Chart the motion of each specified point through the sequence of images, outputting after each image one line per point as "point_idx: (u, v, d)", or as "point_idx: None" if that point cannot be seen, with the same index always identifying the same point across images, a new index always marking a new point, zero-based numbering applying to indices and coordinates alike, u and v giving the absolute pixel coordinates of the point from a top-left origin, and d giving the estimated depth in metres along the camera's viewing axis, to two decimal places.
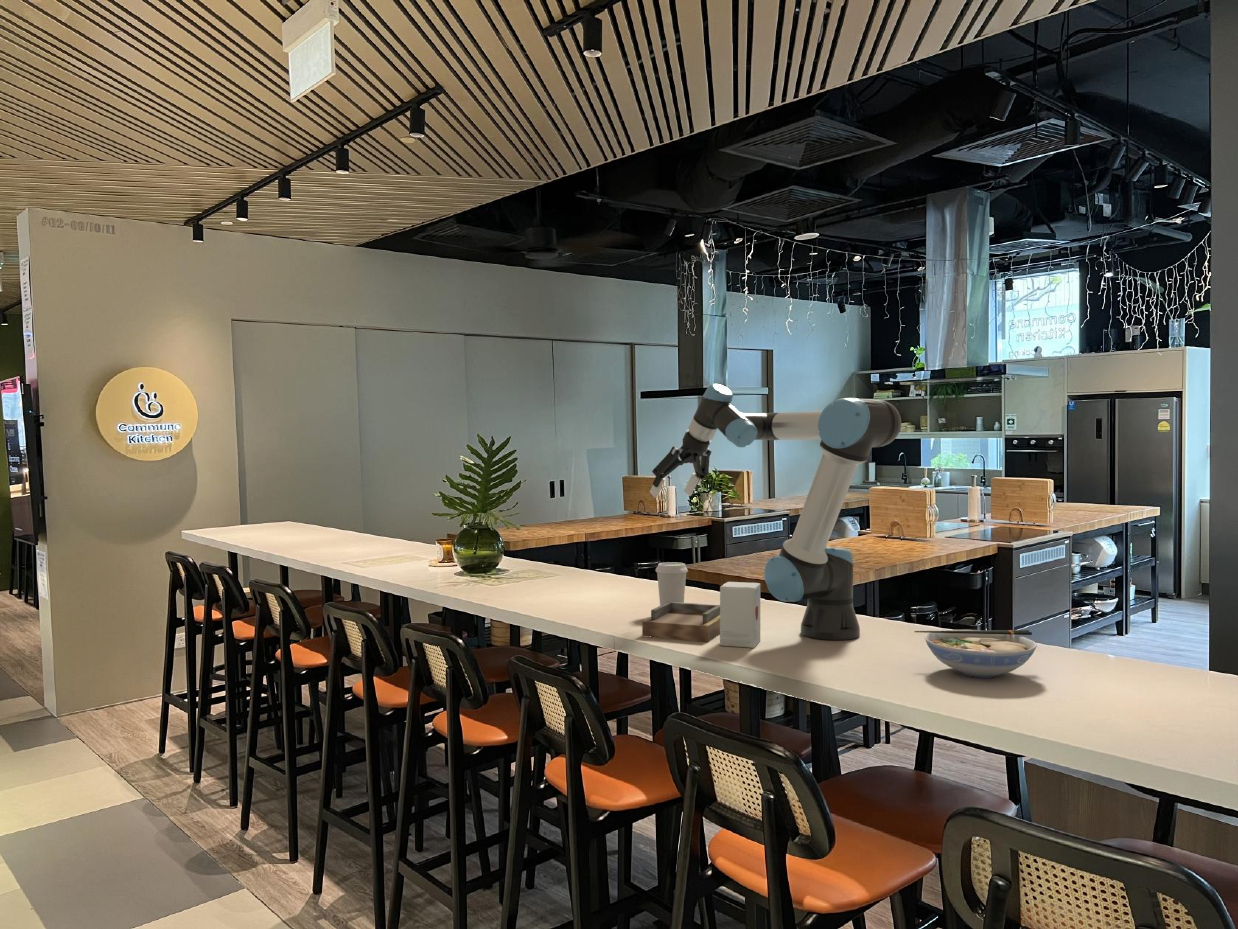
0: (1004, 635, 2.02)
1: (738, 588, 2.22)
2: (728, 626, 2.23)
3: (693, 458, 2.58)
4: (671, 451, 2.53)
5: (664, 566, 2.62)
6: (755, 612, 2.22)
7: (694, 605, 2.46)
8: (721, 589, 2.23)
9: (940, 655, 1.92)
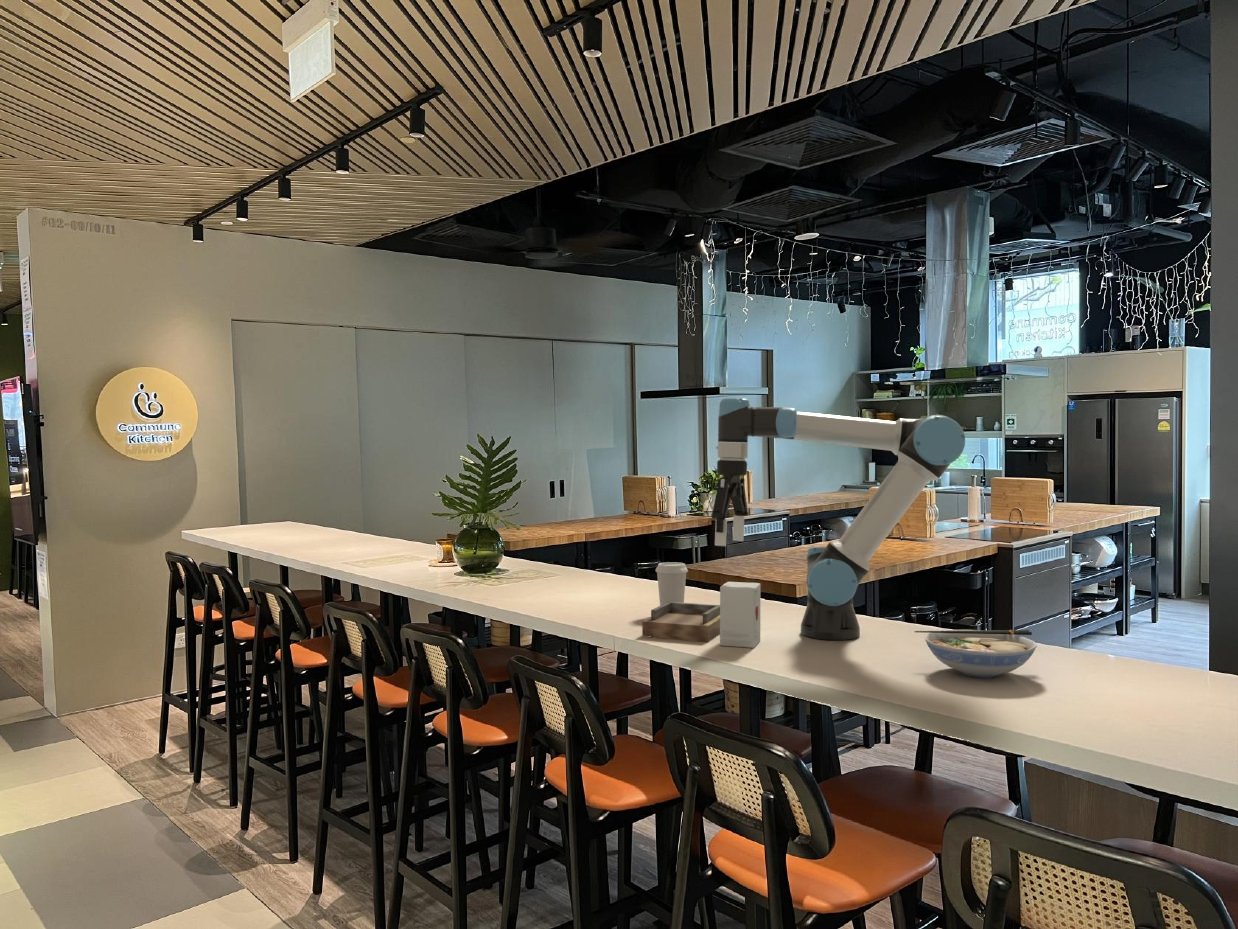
0: (1004, 635, 2.02)
1: (738, 588, 2.22)
2: (728, 626, 2.23)
3: None
4: (719, 485, 2.22)
5: (664, 566, 2.62)
6: (755, 612, 2.22)
7: (694, 605, 2.46)
8: (721, 589, 2.23)
9: (940, 655, 1.92)
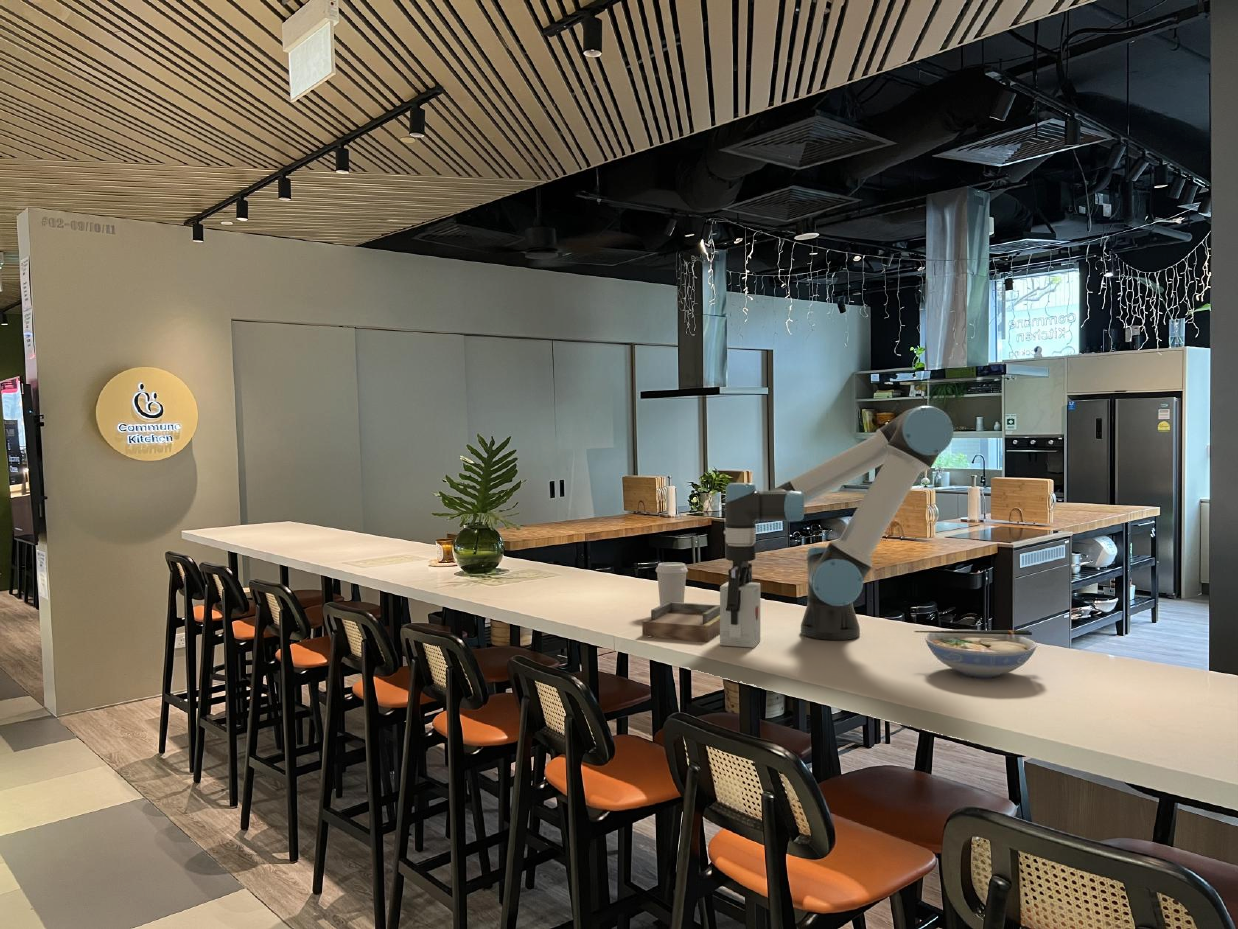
0: (1004, 635, 2.02)
1: None
2: (728, 626, 2.23)
3: None
4: (730, 576, 2.20)
5: (664, 566, 2.62)
6: (755, 612, 2.22)
7: (694, 605, 2.46)
8: (721, 589, 2.23)
9: (940, 655, 1.92)
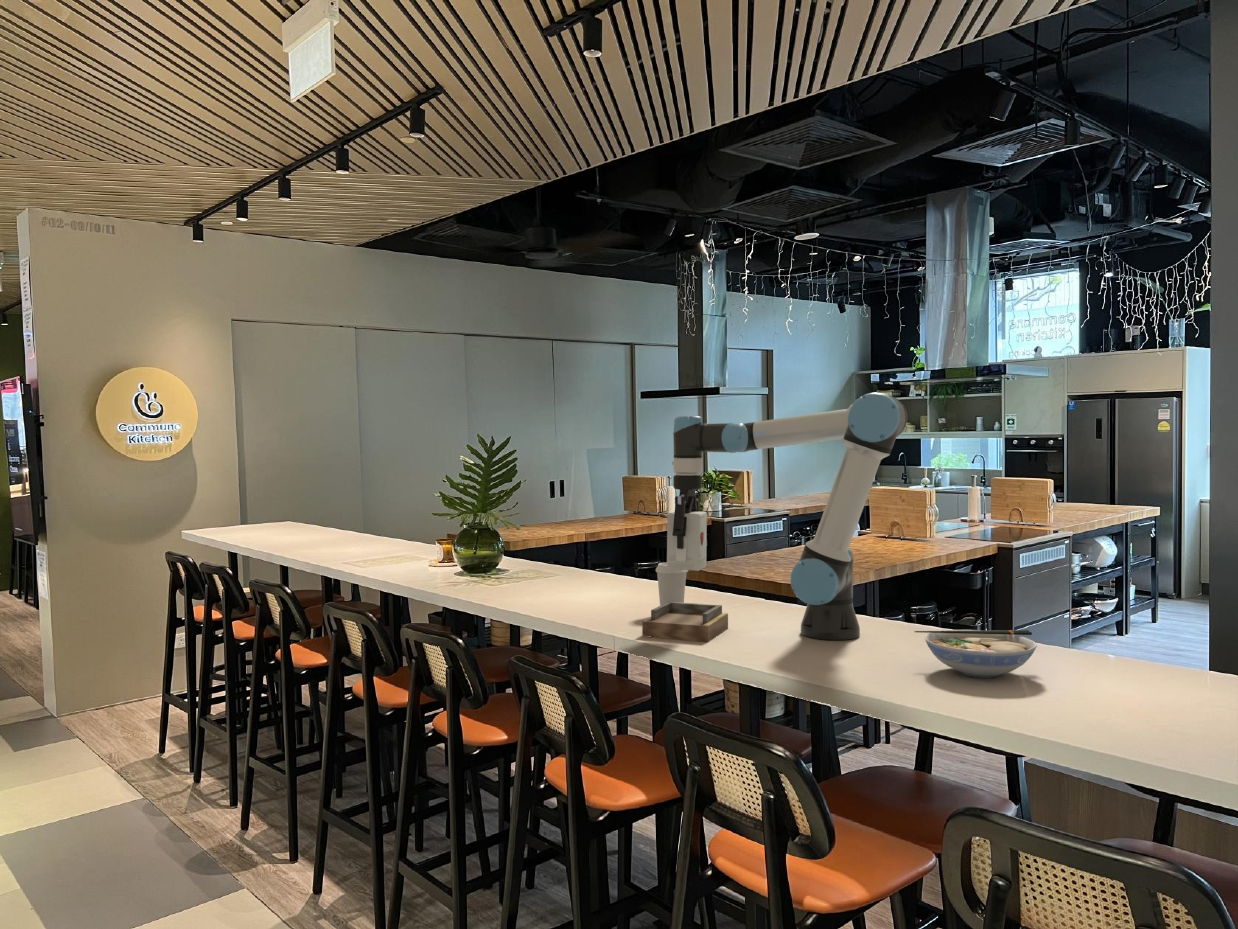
0: (1004, 635, 2.02)
1: None
2: (674, 551, 2.35)
3: None
4: (677, 502, 2.33)
5: (664, 566, 2.62)
6: (700, 537, 2.34)
7: (694, 605, 2.46)
8: (668, 516, 2.36)
9: (940, 655, 1.92)
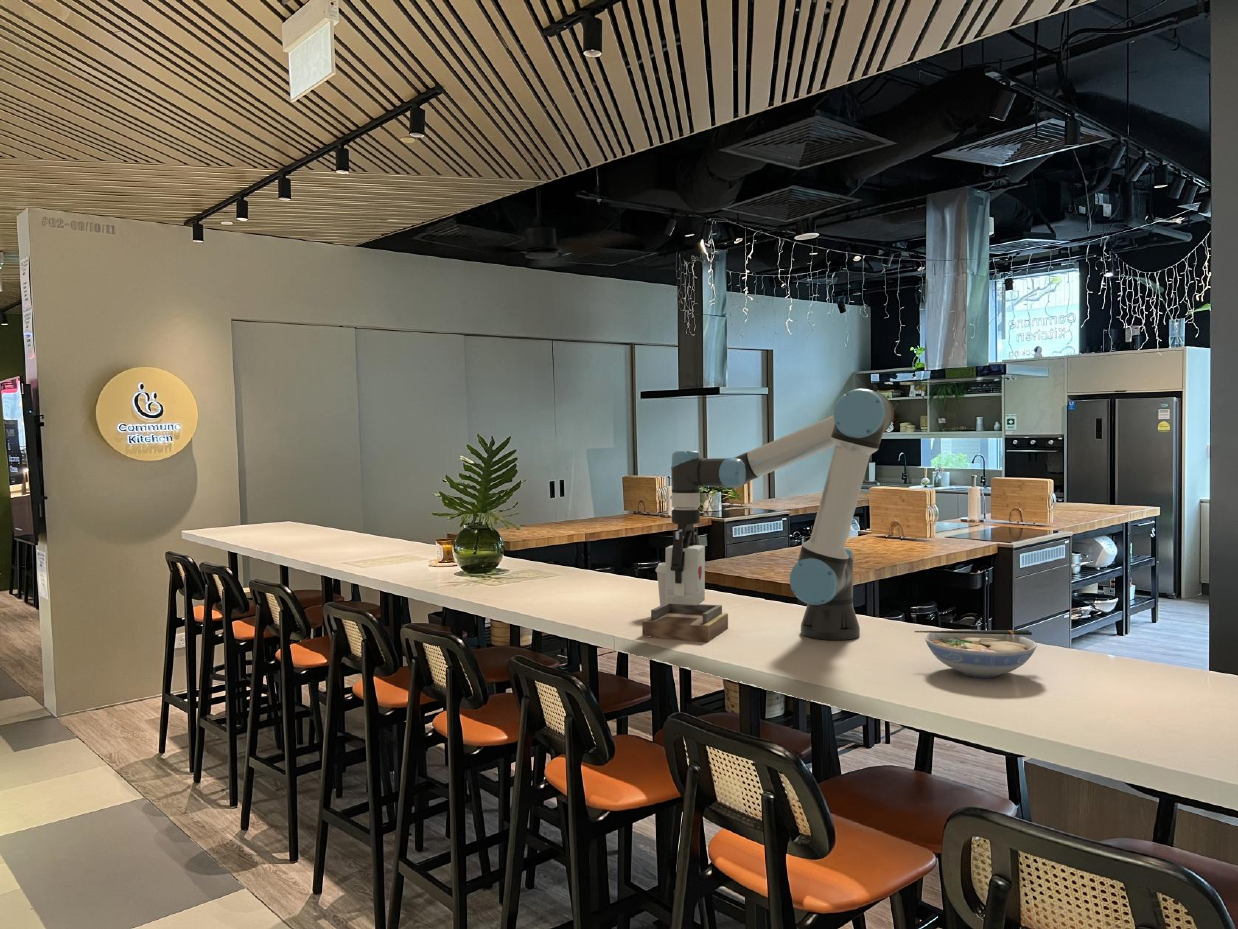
0: (1004, 635, 2.02)
1: None
2: (672, 585, 2.36)
3: None
4: (675, 537, 2.33)
5: (664, 566, 2.62)
6: (698, 572, 2.35)
7: (694, 605, 2.46)
8: (666, 550, 2.37)
9: (940, 655, 1.92)
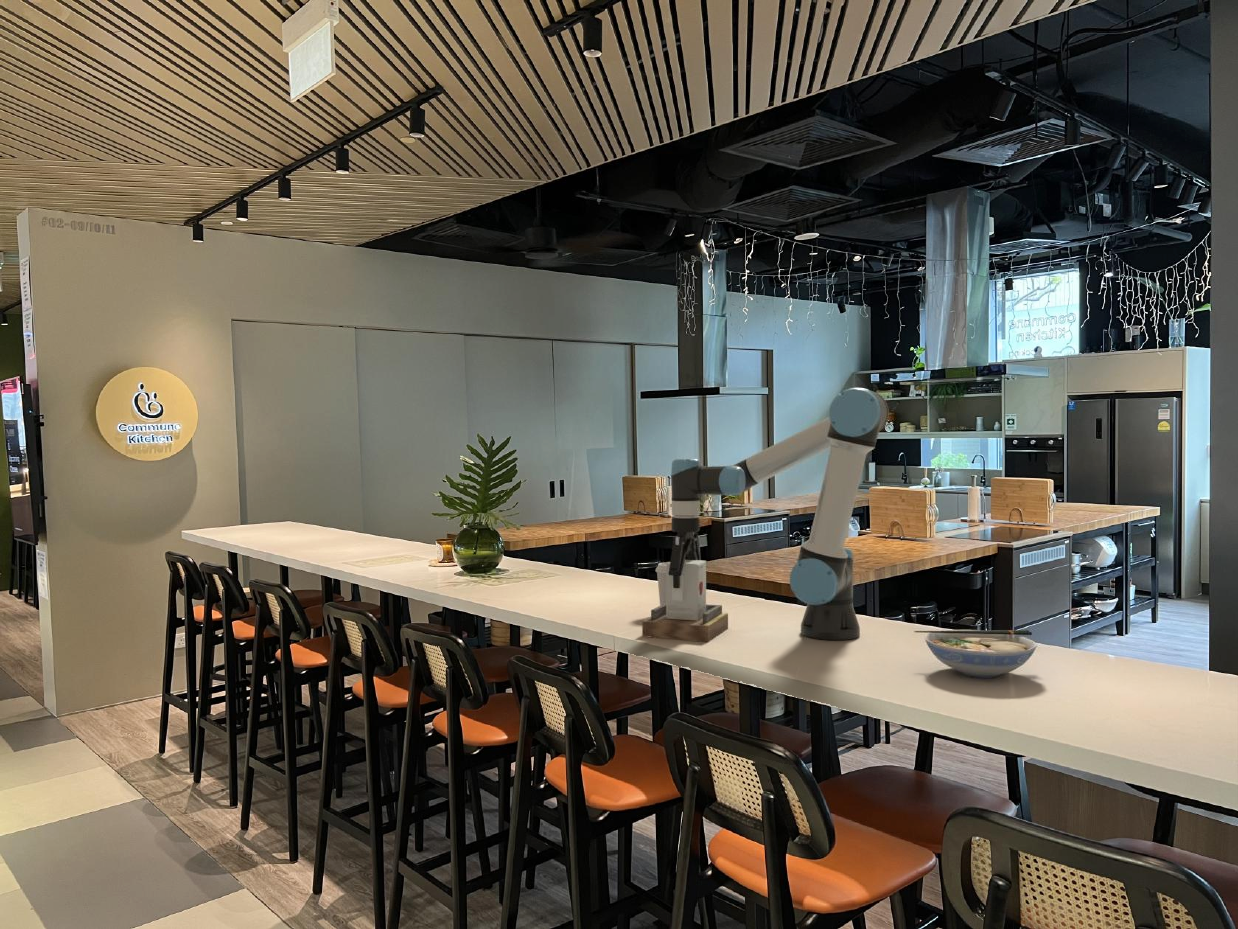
0: (1004, 635, 2.02)
1: None
2: (673, 601, 2.36)
3: (690, 544, 2.40)
4: (674, 542, 2.33)
5: (664, 566, 2.62)
6: (699, 587, 2.35)
7: None
8: (667, 565, 2.37)
9: (940, 655, 1.92)
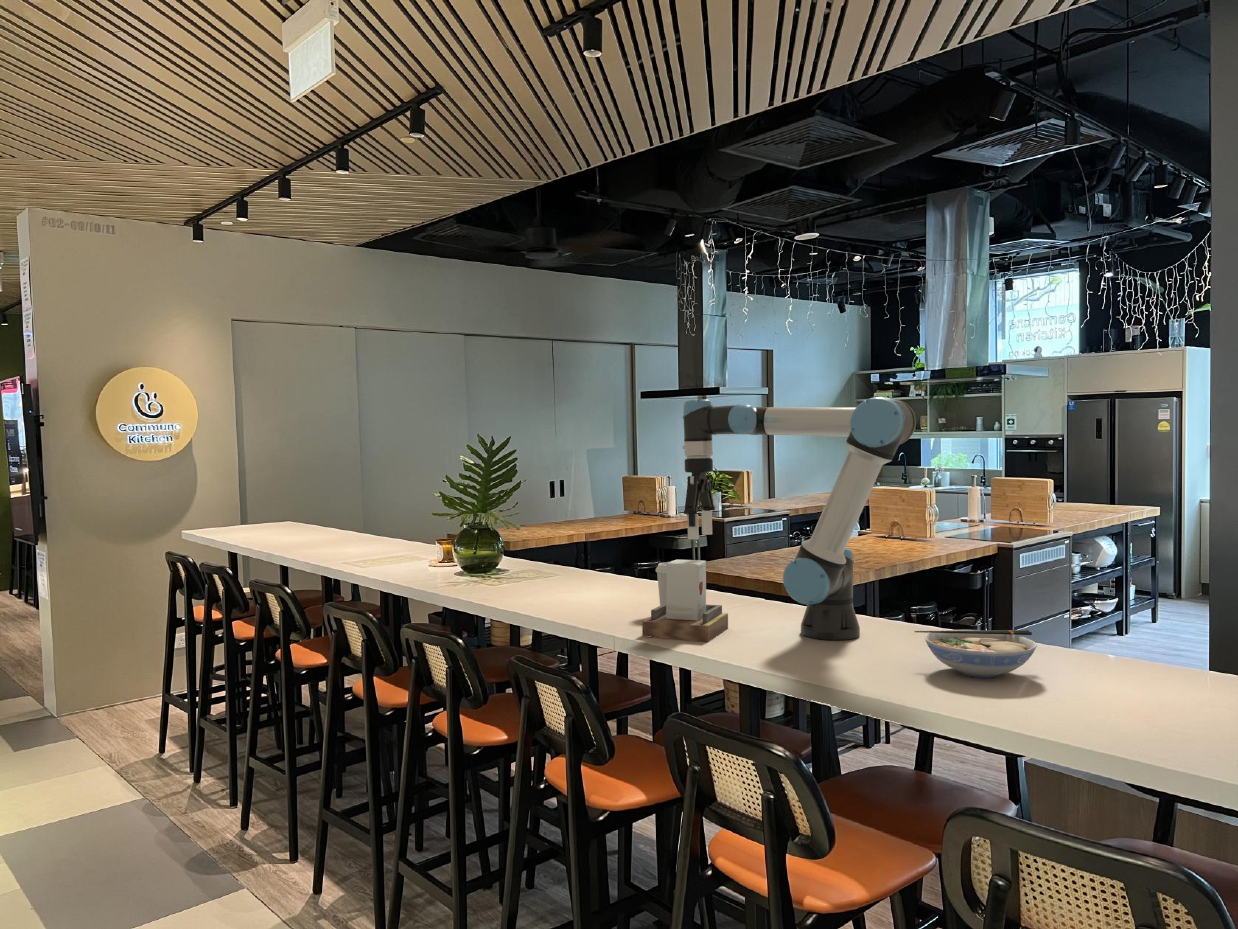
0: (1004, 635, 2.02)
1: (683, 565, 2.36)
2: (673, 601, 2.36)
3: None
4: (689, 481, 2.35)
5: (664, 566, 2.62)
6: (699, 587, 2.35)
7: None
8: (667, 566, 2.37)
9: (940, 655, 1.92)
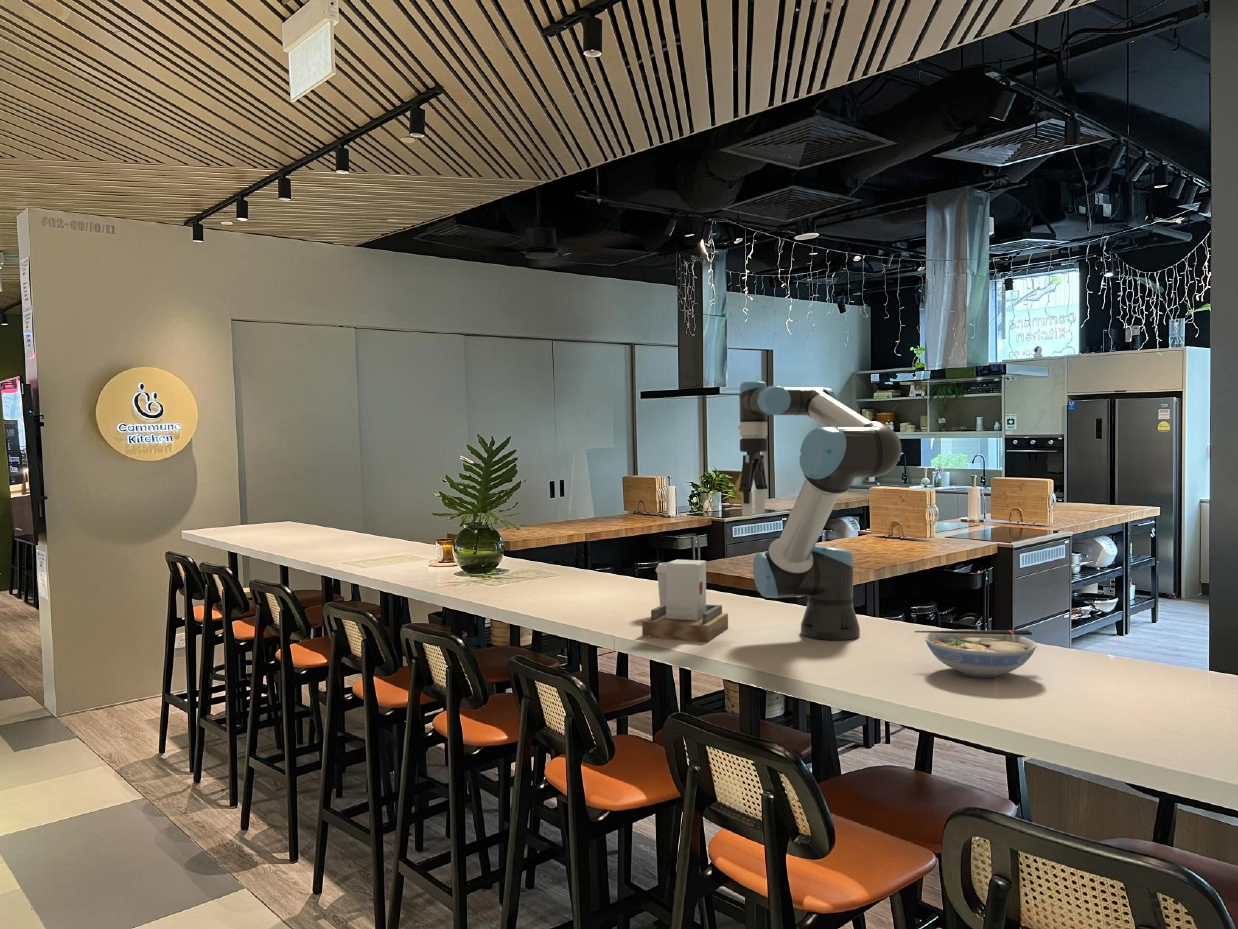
0: (1004, 635, 2.02)
1: (683, 565, 2.36)
2: (673, 601, 2.36)
3: None
4: (744, 460, 2.43)
5: (664, 566, 2.62)
6: (699, 587, 2.35)
7: None
8: (667, 566, 2.37)
9: (940, 655, 1.92)
